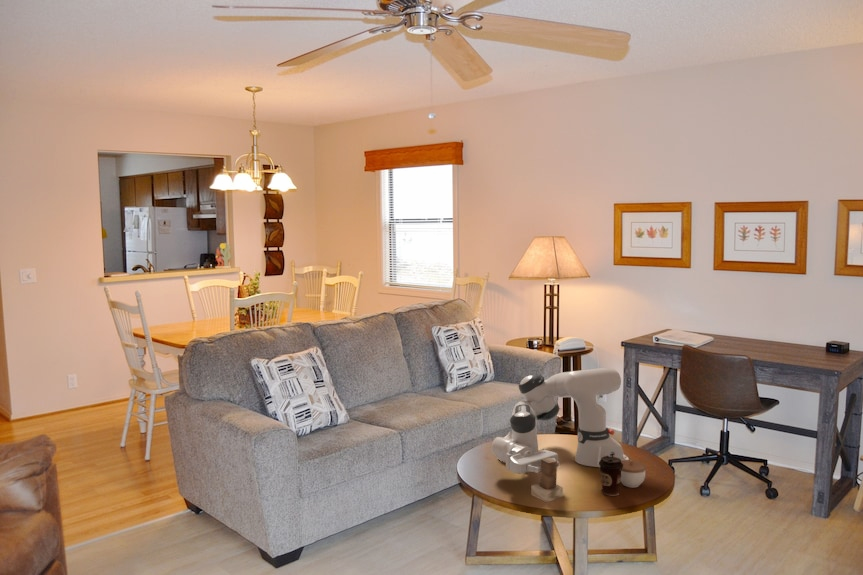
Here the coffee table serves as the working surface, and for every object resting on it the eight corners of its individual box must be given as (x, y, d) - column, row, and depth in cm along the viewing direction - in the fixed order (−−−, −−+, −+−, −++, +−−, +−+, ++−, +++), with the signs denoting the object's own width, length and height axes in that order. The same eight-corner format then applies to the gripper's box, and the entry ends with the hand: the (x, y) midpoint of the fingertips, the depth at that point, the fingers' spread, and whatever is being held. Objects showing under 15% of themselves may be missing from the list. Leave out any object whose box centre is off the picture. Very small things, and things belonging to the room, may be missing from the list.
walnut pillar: (548, 483, 253) (549, 457, 252) (556, 487, 249) (557, 461, 248) (540, 485, 251) (541, 459, 249) (548, 489, 247) (548, 463, 246)
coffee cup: (607, 499, 247) (608, 464, 246) (593, 490, 255) (594, 457, 253) (627, 495, 251) (627, 460, 249) (612, 486, 258) (613, 453, 257)
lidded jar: (642, 492, 253) (642, 467, 252) (613, 486, 258) (613, 462, 257) (648, 482, 262) (648, 458, 262) (620, 477, 268) (620, 454, 267)
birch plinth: (547, 490, 256) (547, 480, 256) (562, 497, 250) (562, 487, 249) (531, 495, 252) (531, 485, 252) (546, 503, 245) (546, 492, 245)
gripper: (542, 459, 267) (568, 469, 255) (502, 470, 255) (528, 482, 244) (542, 443, 266) (568, 453, 255) (502, 454, 254) (528, 465, 243)
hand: (548, 467), depth 249 cm, fingers open, 8 cm apart
